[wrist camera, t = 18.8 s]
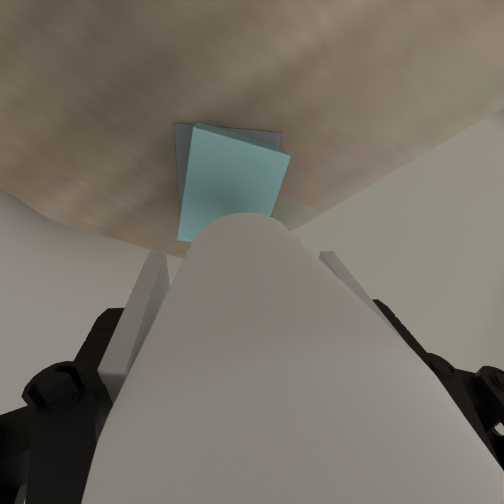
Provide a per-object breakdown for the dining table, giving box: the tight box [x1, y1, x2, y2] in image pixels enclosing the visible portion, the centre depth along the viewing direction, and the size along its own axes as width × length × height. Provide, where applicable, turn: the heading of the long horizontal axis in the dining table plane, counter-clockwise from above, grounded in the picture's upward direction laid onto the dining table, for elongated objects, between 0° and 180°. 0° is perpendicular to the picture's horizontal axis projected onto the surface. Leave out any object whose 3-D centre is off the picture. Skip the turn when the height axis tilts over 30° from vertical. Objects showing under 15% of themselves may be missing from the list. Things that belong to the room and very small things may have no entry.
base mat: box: [174, 123, 282, 218], centre depth 30 cm, size 12×12×1 cm
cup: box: [81, 213, 504, 504], centre depth 9 cm, size 9×9×12 cm
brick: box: [177, 122, 291, 242], centre depth 27 cm, size 9×11×7 cm
